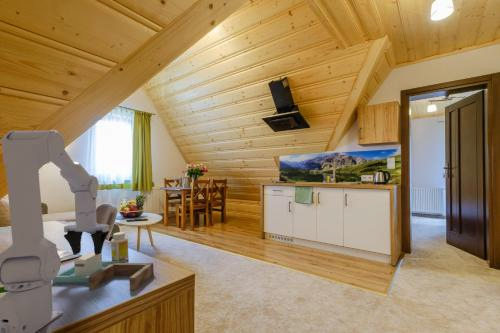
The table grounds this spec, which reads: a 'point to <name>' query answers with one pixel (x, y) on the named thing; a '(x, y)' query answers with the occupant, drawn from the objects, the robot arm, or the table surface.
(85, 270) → the cream rectangular block
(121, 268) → the bay
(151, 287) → the table surface
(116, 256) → the supplement bottle
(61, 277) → the tray
